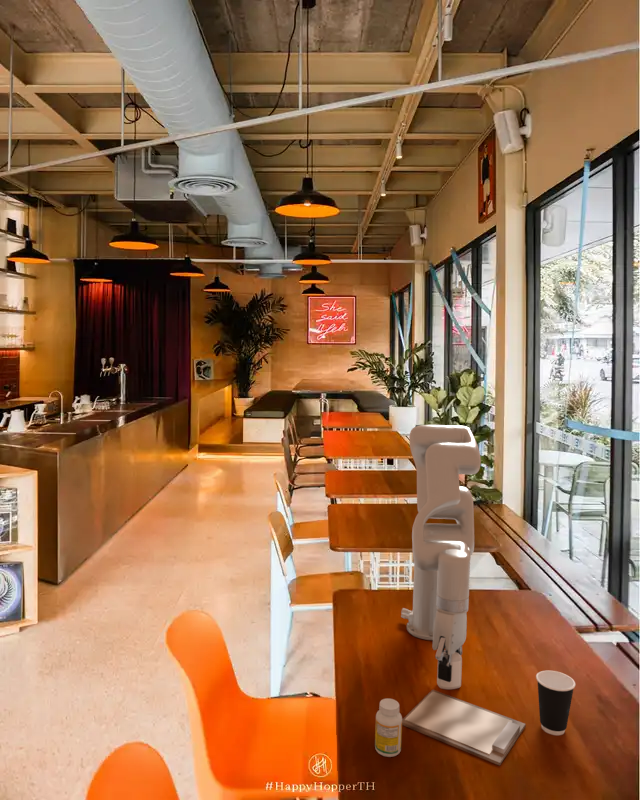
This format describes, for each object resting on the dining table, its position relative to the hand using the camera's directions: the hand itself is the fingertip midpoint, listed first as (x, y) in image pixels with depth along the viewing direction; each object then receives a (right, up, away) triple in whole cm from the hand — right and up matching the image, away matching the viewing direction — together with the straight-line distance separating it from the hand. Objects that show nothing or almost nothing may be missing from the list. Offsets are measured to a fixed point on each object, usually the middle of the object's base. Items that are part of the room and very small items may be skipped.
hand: (449, 674), depth 149 cm
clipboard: (0, -4, -16) cm, 16 cm away
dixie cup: (+19, -5, -16) cm, 25 cm away
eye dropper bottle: (0, -3, 0) cm, 3 cm away
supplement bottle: (-18, -5, -24) cm, 30 cm away
